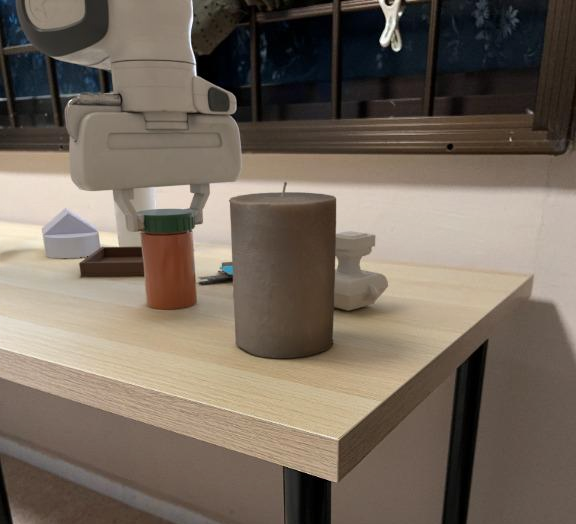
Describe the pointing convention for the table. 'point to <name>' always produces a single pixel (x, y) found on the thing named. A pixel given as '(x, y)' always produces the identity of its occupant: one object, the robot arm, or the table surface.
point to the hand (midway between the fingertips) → (166, 227)
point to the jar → (169, 269)
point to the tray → (113, 262)
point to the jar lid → (168, 220)
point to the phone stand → (221, 275)
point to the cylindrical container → (141, 201)
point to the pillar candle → (283, 272)
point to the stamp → (355, 272)
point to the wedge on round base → (70, 236)
